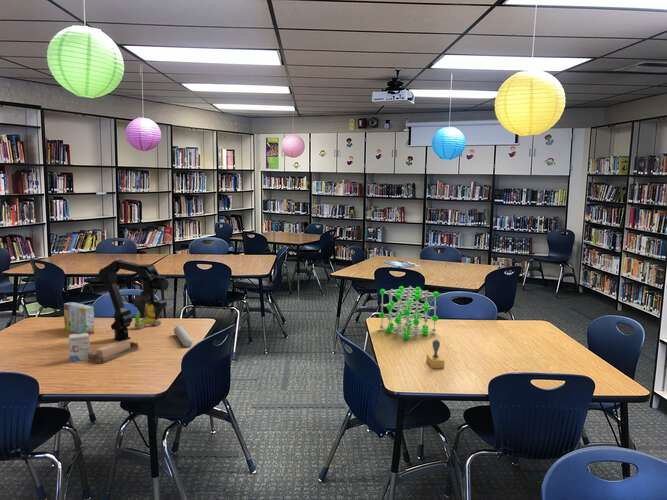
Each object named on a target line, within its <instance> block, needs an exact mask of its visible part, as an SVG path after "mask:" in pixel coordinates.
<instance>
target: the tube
mask: <svg viewBox="0 0 667 500" xmlns="http://www.w3.org/2000/svg"><path fill="white" fill-rule="evenodd" d="M173 334H174V335H175V336H176V337H177V338H178V340H179V341H180V343H181V344H182V346H184V347H186V348H189V347H190V348H191V347H192V346H193V343H194V342H193V341H194V340H193V339H192V337H191V336H190V335H189V334H188V332H187V331H186V330H185V328H184V327H183V326H181V325H176V326H175V328H174V329H173Z"/></svg>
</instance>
